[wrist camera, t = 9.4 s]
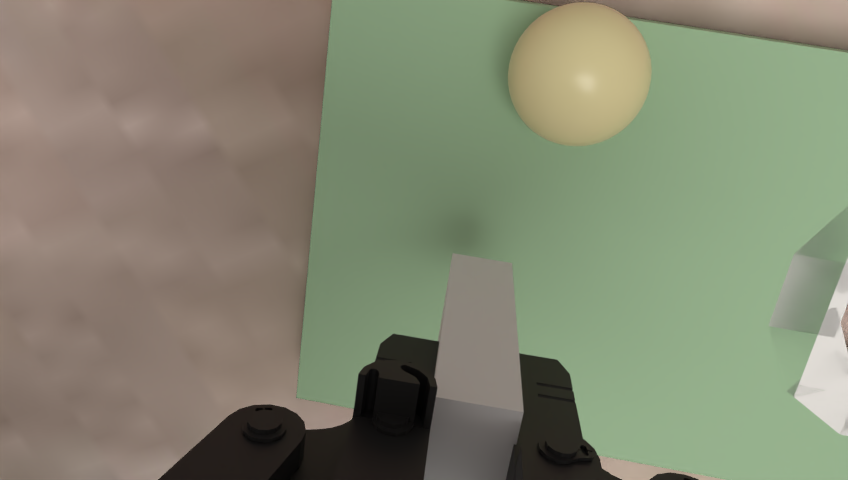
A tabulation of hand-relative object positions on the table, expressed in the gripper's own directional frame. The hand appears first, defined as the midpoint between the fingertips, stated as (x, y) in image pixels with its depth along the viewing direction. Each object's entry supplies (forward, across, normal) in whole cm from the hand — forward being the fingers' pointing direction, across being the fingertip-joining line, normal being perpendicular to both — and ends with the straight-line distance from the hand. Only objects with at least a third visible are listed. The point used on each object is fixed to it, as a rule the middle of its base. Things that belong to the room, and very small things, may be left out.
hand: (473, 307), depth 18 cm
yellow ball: (+3, +2, +6) cm, 7 cm away
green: (+7, +8, 0) cm, 10 cm away
